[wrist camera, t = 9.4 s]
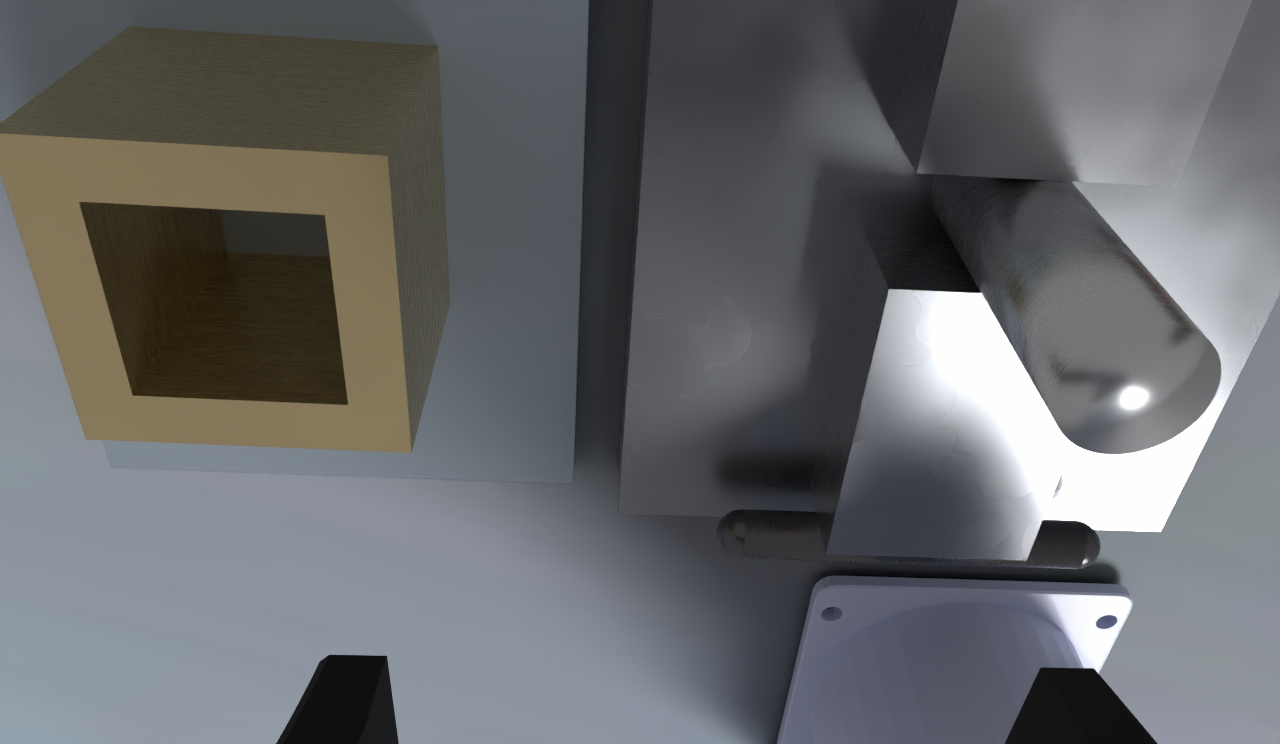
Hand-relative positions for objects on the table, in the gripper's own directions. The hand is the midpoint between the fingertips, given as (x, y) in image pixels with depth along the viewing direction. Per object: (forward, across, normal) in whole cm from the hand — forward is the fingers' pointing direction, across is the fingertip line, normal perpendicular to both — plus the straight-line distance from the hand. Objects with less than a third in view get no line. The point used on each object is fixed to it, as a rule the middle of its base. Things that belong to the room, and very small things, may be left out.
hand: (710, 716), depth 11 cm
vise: (+10, -5, -2) cm, 12 cm away
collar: (+10, +7, -2) cm, 12 cm away
